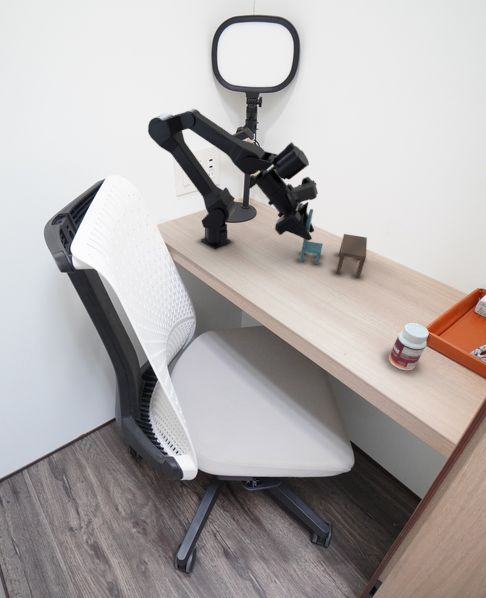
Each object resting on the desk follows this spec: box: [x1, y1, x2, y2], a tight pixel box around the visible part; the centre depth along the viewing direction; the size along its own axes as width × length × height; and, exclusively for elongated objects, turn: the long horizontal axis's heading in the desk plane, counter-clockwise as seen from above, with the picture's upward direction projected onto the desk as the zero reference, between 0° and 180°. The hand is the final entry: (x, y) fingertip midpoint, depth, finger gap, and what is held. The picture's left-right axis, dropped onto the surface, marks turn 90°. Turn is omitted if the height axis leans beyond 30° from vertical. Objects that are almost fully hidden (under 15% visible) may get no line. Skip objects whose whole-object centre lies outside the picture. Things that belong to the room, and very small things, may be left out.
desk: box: [335, 233, 368, 279], centre depth 96 cm, size 6×11×6 cm, turn 160°
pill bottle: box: [388, 322, 430, 371], centre depth 67 cm, size 5×5×8 cm
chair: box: [299, 208, 324, 266], centre depth 97 cm, size 5×5×14 cm
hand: (311, 235), depth 97 cm, fingers closed on chair, 4 cm apart
